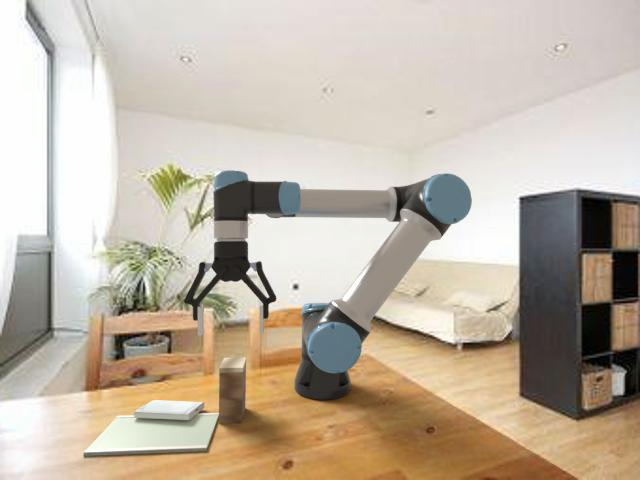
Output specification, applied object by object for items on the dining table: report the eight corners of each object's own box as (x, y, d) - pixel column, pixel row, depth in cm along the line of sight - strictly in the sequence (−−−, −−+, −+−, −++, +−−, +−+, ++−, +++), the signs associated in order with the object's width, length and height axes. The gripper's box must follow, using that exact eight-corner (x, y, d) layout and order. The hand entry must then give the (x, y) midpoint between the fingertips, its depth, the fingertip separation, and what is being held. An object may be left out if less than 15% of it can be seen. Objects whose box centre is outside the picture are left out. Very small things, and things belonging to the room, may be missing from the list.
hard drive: (133, 411, 81) (188, 413, 80) (154, 399, 89) (204, 400, 88) (133, 419, 81) (188, 421, 79) (154, 406, 89) (204, 408, 87)
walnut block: (245, 408, 88) (246, 357, 88) (242, 422, 81) (243, 367, 81) (223, 408, 88) (224, 357, 88) (218, 423, 81) (219, 368, 81)
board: (219, 415, 84) (219, 412, 84) (206, 451, 70) (206, 447, 70) (117, 418, 82) (117, 415, 82) (83, 456, 68) (83, 452, 68)
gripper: (286, 240, 89) (286, 328, 90) (178, 240, 87) (179, 331, 87) (286, 240, 82) (286, 336, 82) (169, 240, 79) (169, 340, 80)
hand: (231, 334), depth 85 cm, fingers open, 13 cm apart
